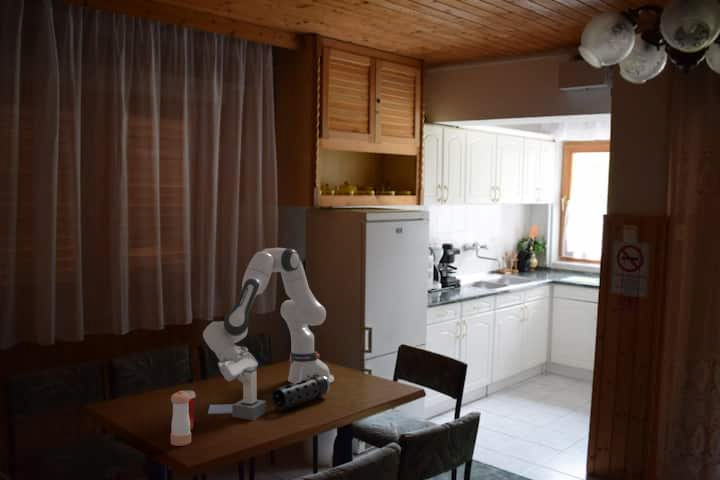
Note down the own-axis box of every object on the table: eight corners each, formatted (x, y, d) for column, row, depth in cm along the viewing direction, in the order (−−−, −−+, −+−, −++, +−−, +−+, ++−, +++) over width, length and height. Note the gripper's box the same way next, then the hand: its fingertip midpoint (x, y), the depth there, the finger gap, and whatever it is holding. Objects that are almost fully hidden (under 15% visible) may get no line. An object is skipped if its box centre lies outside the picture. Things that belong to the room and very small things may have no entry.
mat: (233, 405, 285) (233, 404, 285) (232, 413, 276) (232, 412, 275) (210, 406, 284) (210, 404, 284) (207, 414, 274) (207, 412, 274)
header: (245, 409, 281) (245, 397, 281) (266, 412, 277) (266, 401, 277) (232, 416, 272) (232, 404, 271) (253, 420, 268) (253, 408, 268)
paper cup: (179, 424, 262) (178, 389, 261) (198, 424, 262) (198, 390, 261) (172, 431, 255) (172, 395, 254) (192, 432, 254) (192, 396, 253)
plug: (248, 399, 277) (248, 366, 275) (256, 401, 275) (256, 368, 274) (243, 402, 273) (242, 369, 272) (251, 404, 272) (251, 370, 270)
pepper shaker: (166, 444, 243) (166, 392, 241) (178, 437, 249) (178, 387, 248) (183, 447, 240) (182, 395, 238) (195, 440, 247) (194, 389, 245)
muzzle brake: (270, 409, 281) (270, 385, 280) (315, 394, 303) (315, 372, 302) (286, 415, 275) (286, 390, 275) (331, 398, 297) (331, 376, 296)
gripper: (220, 357, 265) (241, 384, 263) (248, 346, 284) (268, 371, 281) (211, 367, 268) (232, 394, 265) (239, 355, 286) (259, 380, 284)
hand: (251, 382), depth 273 cm, fingers closed on plug, 4 cm apart
